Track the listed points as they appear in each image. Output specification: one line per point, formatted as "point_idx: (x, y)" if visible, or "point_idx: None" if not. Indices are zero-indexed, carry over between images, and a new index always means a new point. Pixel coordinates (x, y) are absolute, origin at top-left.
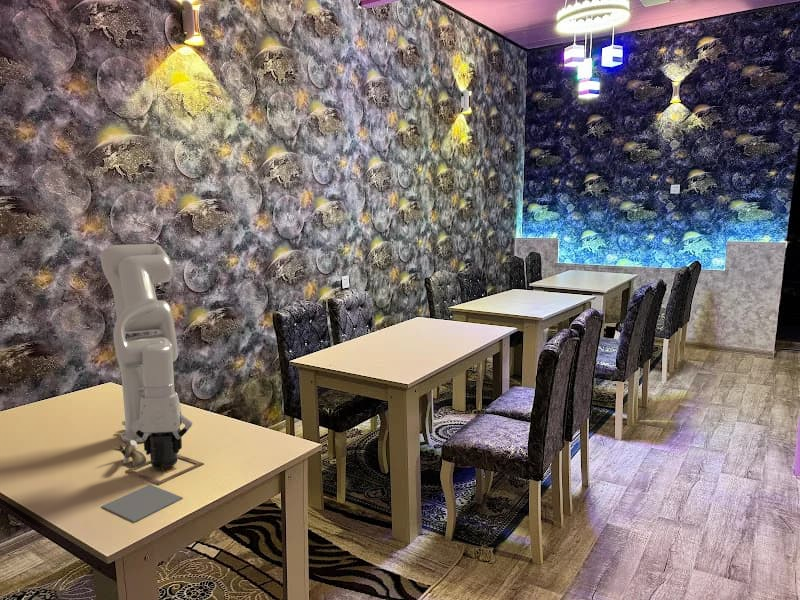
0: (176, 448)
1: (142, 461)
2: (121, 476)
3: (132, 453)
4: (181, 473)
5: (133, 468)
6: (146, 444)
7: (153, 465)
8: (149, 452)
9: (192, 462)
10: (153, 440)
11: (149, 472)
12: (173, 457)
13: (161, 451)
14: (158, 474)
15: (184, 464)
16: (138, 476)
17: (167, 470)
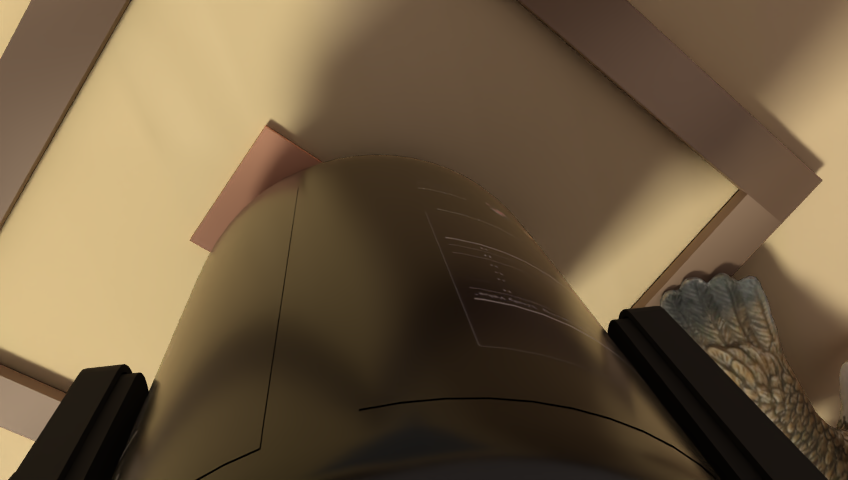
0: (55, 425)
1: None
2: (842, 49)
3: (833, 468)
4: (8, 45)
5: (736, 238)
6: (762, 431)
7: (487, 191)
8: (619, 348)
9: (42, 390)
10: (624, 464)
11: (520, 145)
12: (184, 310)
13: (339, 262)
14: (378, 75)
15: (140, 351)
16: (632, 6)
17: None
